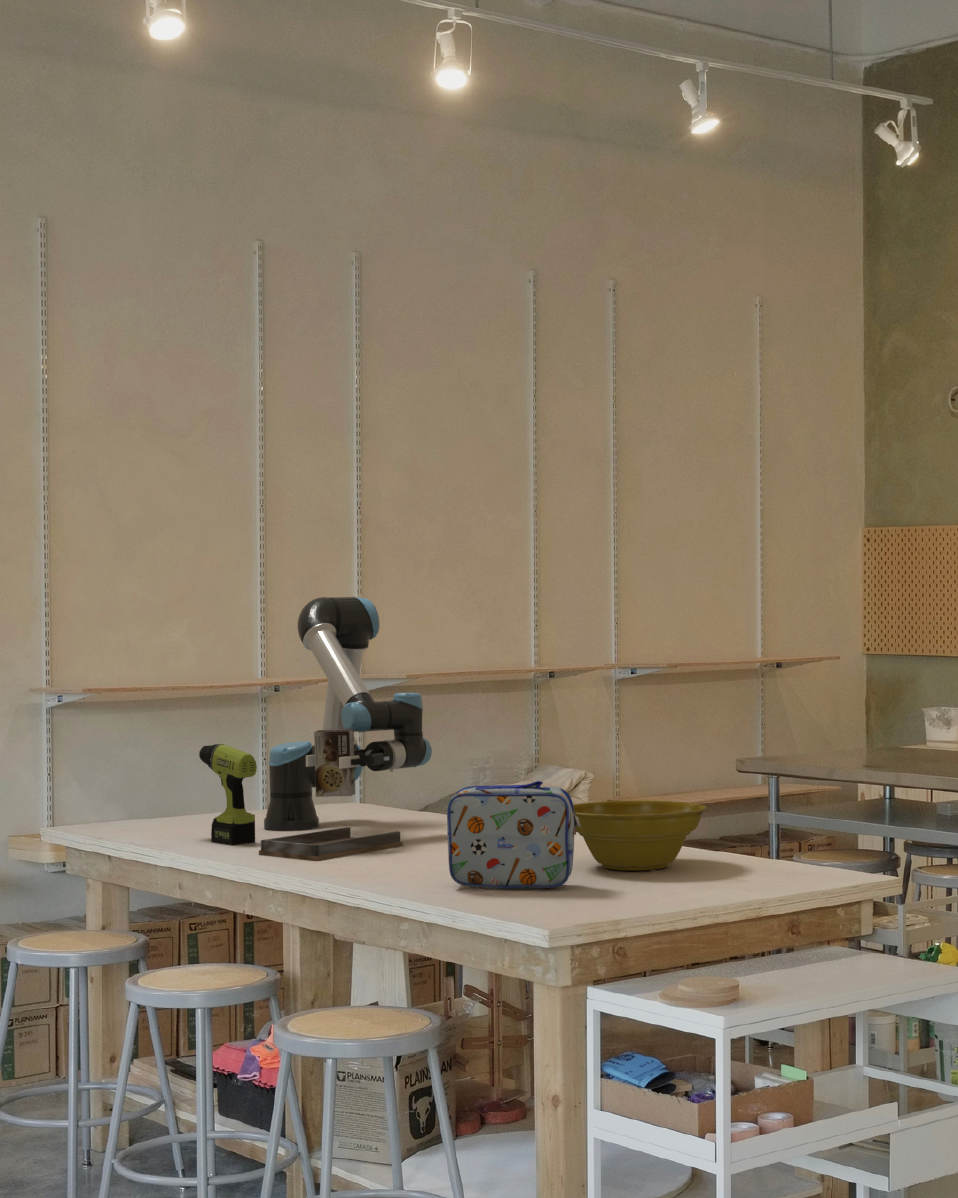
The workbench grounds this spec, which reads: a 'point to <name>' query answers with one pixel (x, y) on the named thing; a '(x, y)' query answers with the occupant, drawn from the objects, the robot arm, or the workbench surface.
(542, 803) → the lunch box
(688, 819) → the planter bowl
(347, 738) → the coffee box
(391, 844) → the brown tray
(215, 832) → the cordless drill
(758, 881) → the workbench surface
